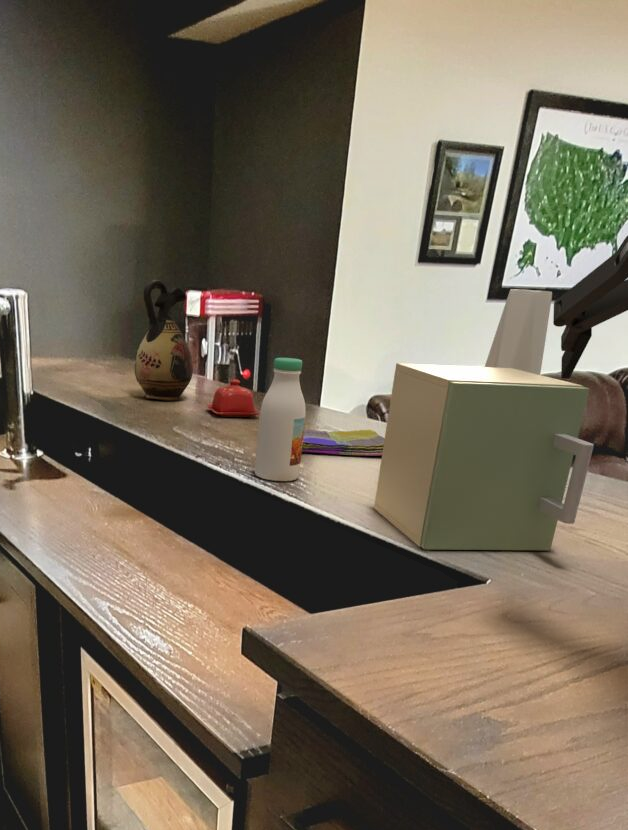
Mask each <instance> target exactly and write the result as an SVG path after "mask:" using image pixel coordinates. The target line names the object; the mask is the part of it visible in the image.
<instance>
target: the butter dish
mask: <svg viewBox="0 0 628 830" xmlns="http://www.w3.org/2000/svg"><path fill="white" fill-rule="evenodd" d="M240 383H241V381H240V380H239V379H237V378H233V379H230V380H229V384H230V385H226V386H221V387H219V388H217V389H216V390H215V392H214V395H213V399H212V403H211V404H206V405H205V406H206V408H208V409H209V410H211V411H212V412H213V413H214V414H216V415H219V416H220V417H225V418H226V417H233V418H235V417H236V418H239V417H240V418H251V417H252V416H257V415H260V411H259V410H257V409H256V408H255V402H254V396H253V393H252V391H250V390H249V389H248V388H246V387H242V386H240Z"/></svg>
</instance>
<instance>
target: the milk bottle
mask: <svg viewBox="0 0 628 830" xmlns="http://www.w3.org/2000/svg"><path fill="white" fill-rule="evenodd" d="M302 369H303V360H302V359H299V358H294V357H292V358H291V357H275V358H274V360H273V372H274V373H273V379H272V381H271V384H270V386H269V388H268V390H267V392H266V393H265V395H264V397H263V399H262V402H261V406H260V411H259V412H260V414H259V419H258V428H257V436H256V437H257V438H256V447H255V448H256V449H255V457H254V469H253V471H254V474H255V476H257V478H261V479H263V480H267V481H274V482H291V481H295V480H297V479H298V478H299V475H300V470H301V461H302V453H303V452H302V445H303V436H304V429H305V427H306V412H307V410H306V409H307V408H306V402H305V401H306V400H305V398H304V395H303V392H302V388H301V383H300V375H301V374H302Z"/></svg>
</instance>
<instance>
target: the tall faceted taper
mask: <svg viewBox="0 0 628 830" xmlns="http://www.w3.org/2000/svg"><path fill="white" fill-rule="evenodd" d="M552 298H553V291H550V290H535V289H534V290H532V289H519V288H517V289H516V288H510V290H509V292H508V295H507V298H506V301H505V304H504V306H503V309H502V312H501V315H500V319H499V322H498V325H497V328H496V331H495V334H494V337H493V340H492V343H491V345H490V349H489V352H488V356H487V358H486V361H485V364H484V367H495V368H513V369H517V370H521V371H526V372H530V373H534V374H538V375H541V372H542V367H543V359H544V352H545V346H546V341H547V340H546V339H547V333H548V332H547V331H548V325H549V318H550V314H551V313H550V312H551V305H552Z"/></svg>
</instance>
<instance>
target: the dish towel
mask: <svg viewBox="0 0 628 830" xmlns="http://www.w3.org/2000/svg"><path fill="white" fill-rule="evenodd" d="M384 440H385V437H383V436H382V435H379V434H378V433H377V432H376V430H375V431H374V430H372V429H359V430H356V429H355V430H347V431H344V430H343V431H340V430H339V431H337V430H333V431H327V430H315V429H308V428H307V429H306V428H304V436H303V445H302V453H317V454H327V455H342V456H343V455H344V456H345V455H346V456H364V457H365V456H366V457H371V456H372V457H374V456H375V457H382V453H383V446H384Z"/></svg>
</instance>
